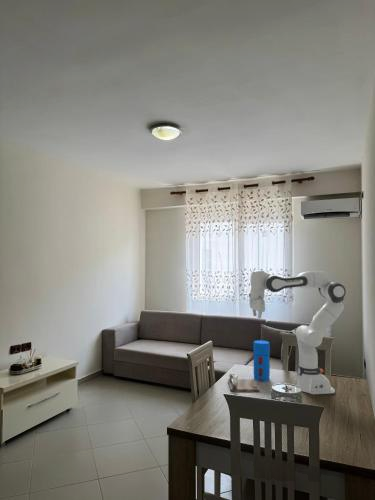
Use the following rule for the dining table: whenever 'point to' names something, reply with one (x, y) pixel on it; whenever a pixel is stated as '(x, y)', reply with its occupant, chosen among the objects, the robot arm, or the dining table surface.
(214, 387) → the dining table surface
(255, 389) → the press base
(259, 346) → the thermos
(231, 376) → the lever
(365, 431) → the dining table surface
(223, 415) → the dining table surface
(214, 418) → the dining table surface
